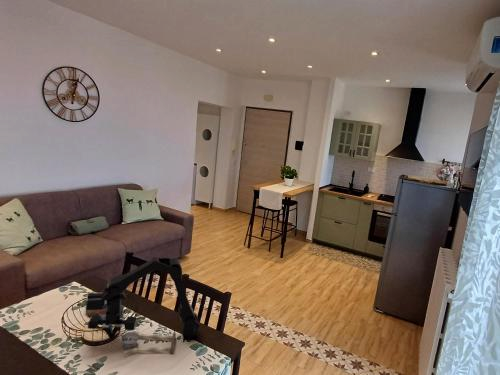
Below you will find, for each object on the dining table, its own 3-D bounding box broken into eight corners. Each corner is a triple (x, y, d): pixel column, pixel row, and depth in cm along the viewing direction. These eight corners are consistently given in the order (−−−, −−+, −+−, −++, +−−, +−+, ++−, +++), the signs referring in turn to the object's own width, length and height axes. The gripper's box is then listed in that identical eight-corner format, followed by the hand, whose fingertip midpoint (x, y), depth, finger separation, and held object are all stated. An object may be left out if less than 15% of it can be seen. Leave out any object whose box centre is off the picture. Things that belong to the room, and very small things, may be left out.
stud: (139, 340, 146) (140, 332, 145) (135, 350, 139) (136, 343, 138) (123, 339, 145) (123, 331, 144) (118, 350, 138) (119, 342, 137)
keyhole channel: (175, 335, 152) (176, 329, 151) (172, 357, 138) (172, 351, 137) (131, 334, 149) (131, 328, 148) (123, 356, 135) (123, 350, 134)
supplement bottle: (92, 322, 153) (93, 300, 151) (106, 319, 157) (107, 297, 154) (95, 329, 149) (96, 307, 146) (109, 326, 152) (110, 304, 150)
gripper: (140, 298, 146) (138, 328, 150) (96, 296, 144) (96, 327, 147) (134, 312, 136) (132, 345, 139) (87, 310, 133) (86, 344, 136)
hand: (112, 339), depth 140 cm, fingers closed
